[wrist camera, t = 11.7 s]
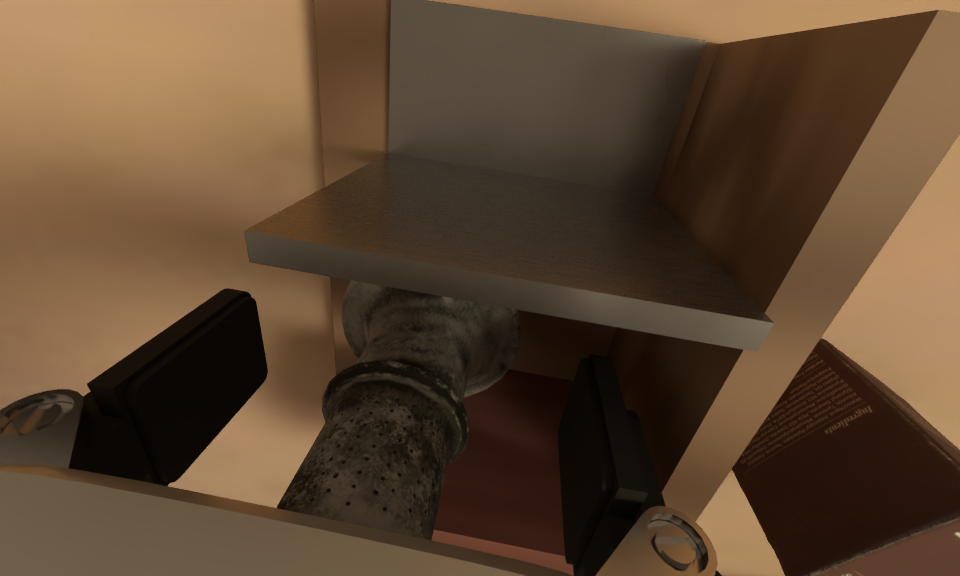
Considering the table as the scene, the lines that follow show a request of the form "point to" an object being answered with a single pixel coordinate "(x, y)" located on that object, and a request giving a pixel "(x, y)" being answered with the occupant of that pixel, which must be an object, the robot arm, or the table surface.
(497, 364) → the dark grey chess piece
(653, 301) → the bookend
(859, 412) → the box
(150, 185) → the table surface
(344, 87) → the shelf
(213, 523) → the robot arm
